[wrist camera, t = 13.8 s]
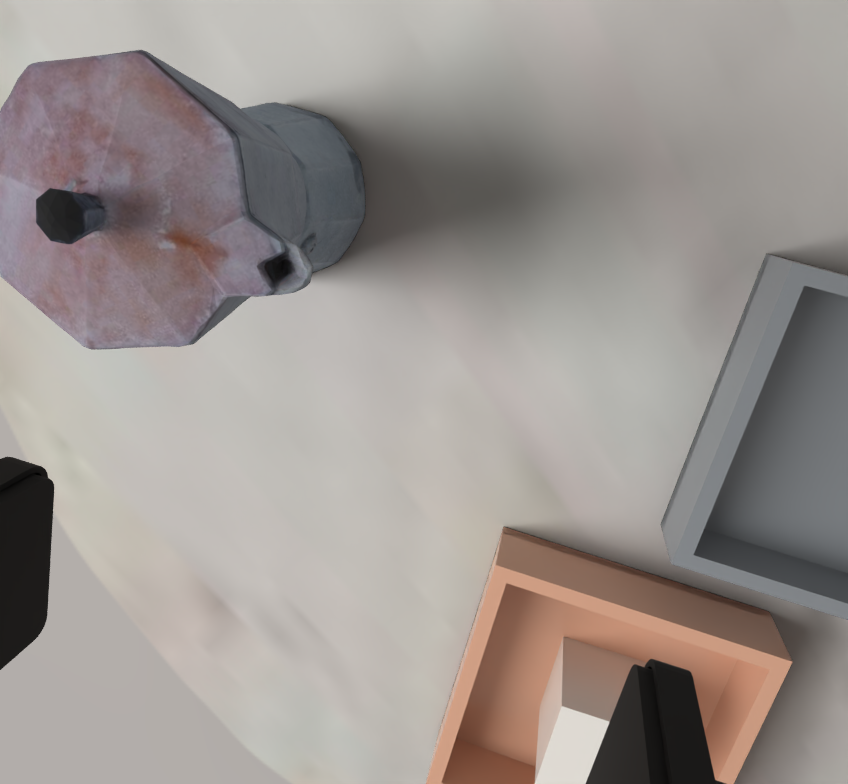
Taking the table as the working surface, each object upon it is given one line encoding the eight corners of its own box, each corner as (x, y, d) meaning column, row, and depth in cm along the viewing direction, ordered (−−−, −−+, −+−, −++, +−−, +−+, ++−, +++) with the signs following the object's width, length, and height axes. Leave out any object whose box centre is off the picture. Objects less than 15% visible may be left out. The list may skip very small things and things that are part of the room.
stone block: (563, 636, 42) (561, 706, 36) (650, 663, 41) (662, 739, 35) (539, 706, 43) (534, 783, 38) (623, 733, 43) (631, 817, 37)
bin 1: (503, 526, 42) (495, 564, 37) (769, 611, 40) (792, 661, 36) (438, 733, 46) (424, 788, 42) (674, 817, 44) (685, 884, 40)
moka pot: (397, 320, 40) (236, 437, 21) (139, 246, 42) (-224, 293, 23) (439, 139, 37) (299, 83, 18) (161, 69, 39) (-235, -49, 20)
